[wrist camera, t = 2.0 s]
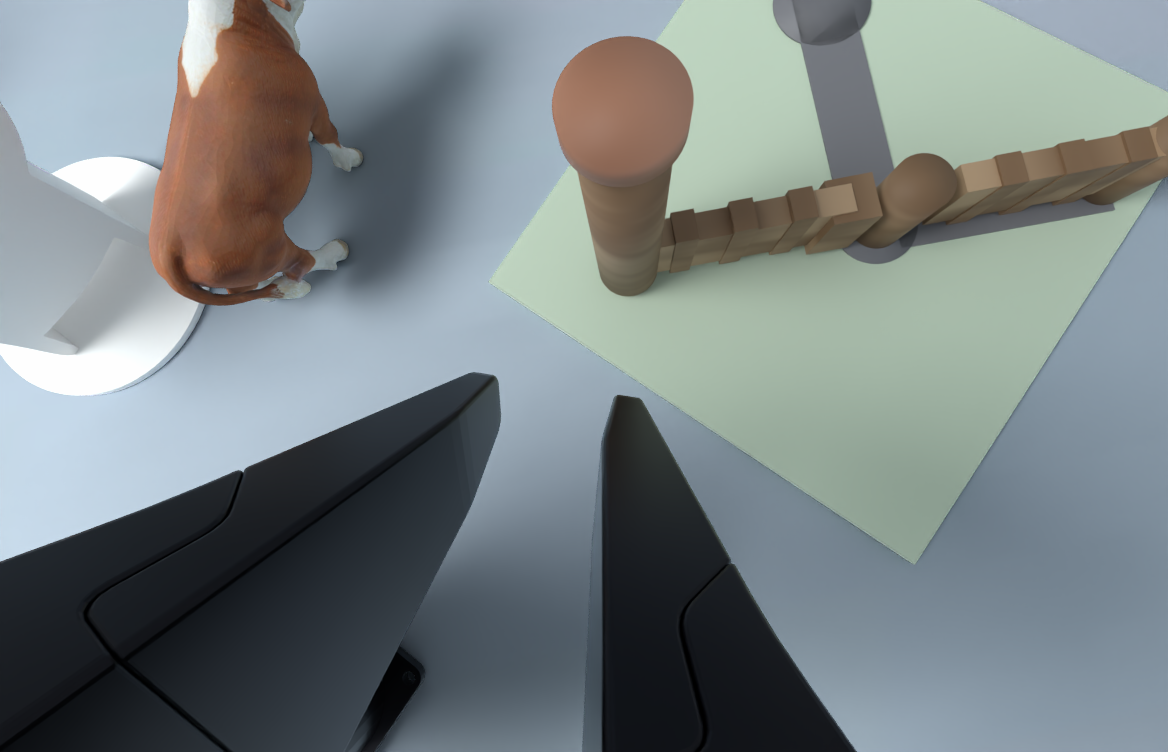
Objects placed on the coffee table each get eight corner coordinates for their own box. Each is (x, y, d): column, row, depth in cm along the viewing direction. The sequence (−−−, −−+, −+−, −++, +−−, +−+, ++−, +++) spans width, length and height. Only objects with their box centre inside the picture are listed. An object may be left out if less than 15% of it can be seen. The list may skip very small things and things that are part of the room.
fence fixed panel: (851, 256, 21) (900, 215, 17) (840, 210, 22) (887, 159, 18) (1122, 207, 21) (1239, 153, 17) (1108, 160, 21) (1219, 95, 17)
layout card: (910, 563, 20) (916, 565, 19) (490, 283, 23) (487, 281, 22) (1197, 115, 21) (1209, 109, 20) (757, -100, 23) (759, -110, 23)
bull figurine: (410, 61, 24) (298, -125, 16) (331, 340, 23) (168, 290, 15) (324, 47, 25) (174, -139, 17) (243, 320, 24) (40, 260, 16)
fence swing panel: (834, 194, 21) (1043, -57, 10) (850, 263, 21) (1083, 77, 10) (587, 240, 22) (542, 52, 11) (599, 308, 21) (563, 181, 11)
